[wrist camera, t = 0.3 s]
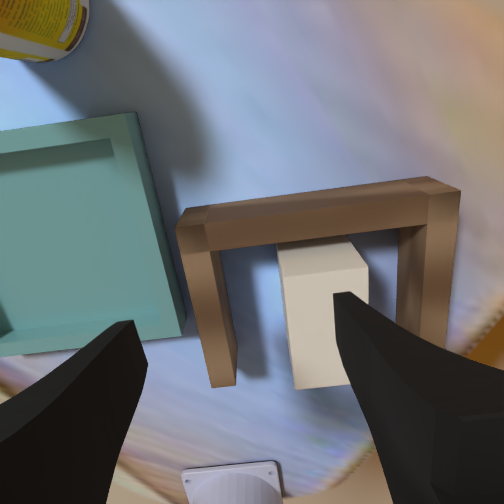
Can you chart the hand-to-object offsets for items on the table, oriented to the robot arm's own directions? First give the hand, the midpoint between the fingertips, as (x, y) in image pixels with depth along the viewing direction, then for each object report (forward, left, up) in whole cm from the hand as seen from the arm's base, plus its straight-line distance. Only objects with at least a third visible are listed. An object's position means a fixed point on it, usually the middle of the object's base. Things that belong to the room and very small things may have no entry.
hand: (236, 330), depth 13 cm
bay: (-4, -4, -10) cm, 11 cm away
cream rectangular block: (-4, -4, -10) cm, 11 cm away
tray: (+1, +11, -10) cm, 15 cm away
